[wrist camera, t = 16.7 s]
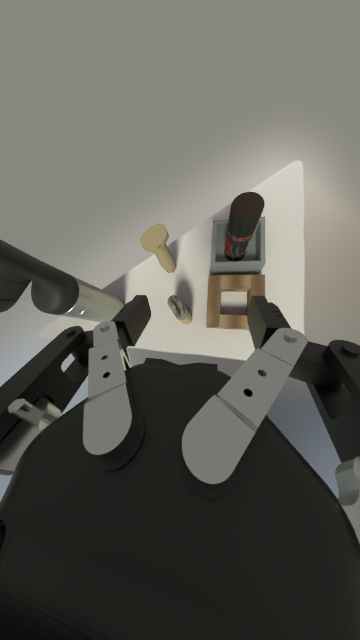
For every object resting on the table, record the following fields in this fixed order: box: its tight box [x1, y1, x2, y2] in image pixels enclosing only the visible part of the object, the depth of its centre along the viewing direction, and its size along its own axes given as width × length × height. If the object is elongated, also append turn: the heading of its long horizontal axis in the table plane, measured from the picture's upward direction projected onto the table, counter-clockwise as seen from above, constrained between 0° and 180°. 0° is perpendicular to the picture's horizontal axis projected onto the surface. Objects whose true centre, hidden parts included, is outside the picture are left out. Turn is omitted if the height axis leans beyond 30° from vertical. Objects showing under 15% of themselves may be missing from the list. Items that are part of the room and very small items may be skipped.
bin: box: [211, 217, 265, 274], centre depth 41 cm, size 13×13×5 cm
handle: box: [140, 224, 176, 273], centre depth 40 cm, size 5×6×15 cm
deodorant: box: [224, 192, 264, 261], centre depth 36 cm, size 6×6×15 cm
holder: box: [206, 275, 265, 330], centre depth 40 cm, size 14×14×4 cm
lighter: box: [168, 295, 192, 324], centre depth 39 cm, size 7×4×10 cm, turn 32°
